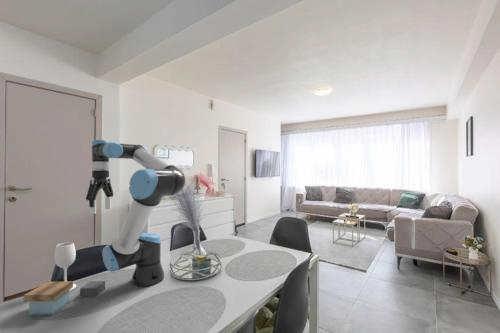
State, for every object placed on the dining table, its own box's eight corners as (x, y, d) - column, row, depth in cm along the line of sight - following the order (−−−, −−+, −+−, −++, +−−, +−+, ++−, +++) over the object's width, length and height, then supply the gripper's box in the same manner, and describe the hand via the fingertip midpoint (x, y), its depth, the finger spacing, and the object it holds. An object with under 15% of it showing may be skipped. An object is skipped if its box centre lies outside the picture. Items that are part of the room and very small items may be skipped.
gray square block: (105, 289, 116) (105, 280, 116) (96, 297, 109) (96, 288, 109) (90, 289, 116) (90, 281, 116) (80, 297, 109) (80, 288, 109)
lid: (72, 287, 106) (72, 281, 106) (53, 301, 95) (53, 294, 95) (46, 287, 106) (46, 281, 106) (23, 301, 95) (23, 295, 95)
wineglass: (49, 294, 112) (49, 247, 112) (58, 285, 120) (58, 242, 120) (71, 291, 114) (71, 246, 114) (79, 283, 122) (79, 240, 123)
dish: (69, 302, 105) (69, 288, 105) (52, 315, 96) (52, 299, 96) (47, 302, 105) (47, 288, 105) (29, 315, 96) (29, 300, 96)
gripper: (106, 169, 140) (106, 207, 140) (76, 170, 115) (77, 216, 115) (120, 169, 140) (120, 207, 140) (93, 170, 115) (93, 215, 115)
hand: (100, 211), depth 128 cm, fingers open, 13 cm apart
